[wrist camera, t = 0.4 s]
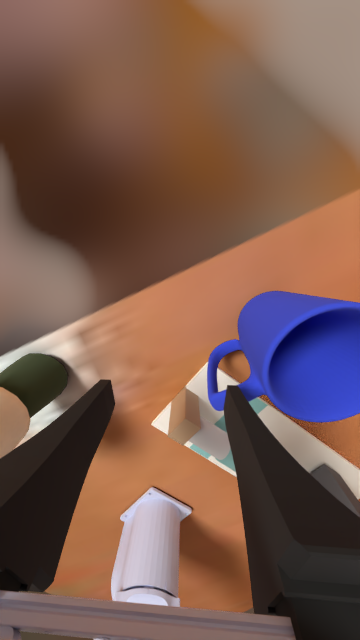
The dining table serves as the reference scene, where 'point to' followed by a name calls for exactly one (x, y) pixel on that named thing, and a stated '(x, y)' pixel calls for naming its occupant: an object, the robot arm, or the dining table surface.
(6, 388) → the character mug
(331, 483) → the collar
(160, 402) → the dining table surface
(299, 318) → the mug
